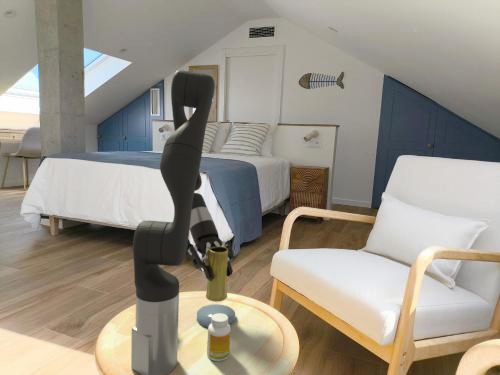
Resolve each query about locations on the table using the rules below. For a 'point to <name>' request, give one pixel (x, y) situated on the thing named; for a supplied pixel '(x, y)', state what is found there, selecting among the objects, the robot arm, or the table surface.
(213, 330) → the supplement bottle
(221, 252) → the vase
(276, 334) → the table surface
